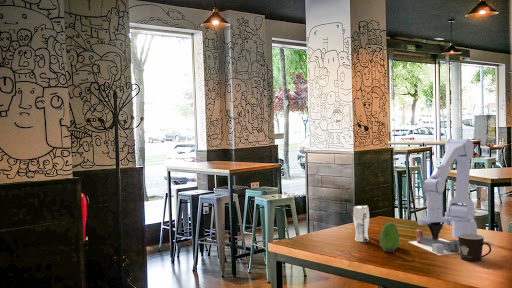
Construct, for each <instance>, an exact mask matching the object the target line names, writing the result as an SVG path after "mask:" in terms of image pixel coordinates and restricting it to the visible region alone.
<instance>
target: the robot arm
mask: <svg viewBox="0 0 512 288" xmlns="http://www.w3.org/2000/svg"><path fill="white" fill-rule="evenodd" d="M474 147H475V145H474V143H473V140H471V139H470V138H467V139H466V138H465V139H464V138H463V139H462V138H461V139H460V138H448V139H447V140H446V142H445V148H444V149H445V153H444V154H443V157H442V160H441V162H440V163H439V164H436V165H435V167H434V170H433V172H432V174H430V177H429V178H427V179H425V180H424V183H423V190H424V194H425V197H426V212H427V213H426V217H424V218H420V219H417V225H419V226H423V225H427V227H428V229H429V231H430V233H431V235H432V236H431V238H434V239H439V235H440V233H441V230H442V228H443V226H444V224H443V223H452V237H453V238H454V239H458V235H459V234H478V230H477V229H478V227H477V225H478V224H477V222H476V221H475V215H476V214H475V213H476V210H475V203H474V201H473V200H471V199H470V198H469V186H470V185H469V184H470V169H471V168H470V167H471V159H473V158H474ZM455 160H456V163H457V165H456V180H455V181H456V182H455V194H454V195H455V196H454V197H453V198H451V199H450V200H449V203H448V206H447V214H448V216H443V202H442V201H443V199H442V198H443V197H442V196H443V192H444V191H445V187H446V186H445V185H446V180H447V178H448V176H449V174H450V173H451V172H450V170H451V169H450V166H451V165H452V164H453V163H454V161H455Z"/></svg>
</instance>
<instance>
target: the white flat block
mask: <svg viewBox="0 0 512 288" xmlns="http://www.w3.org/2000/svg"><path fill="white" fill-rule="evenodd" d="M438 240H442V241H446V242H449V240H446V239H444V238H438ZM408 243H410V244H412V245H414V246H417V247H419V248H421V249H423V250H425V251H428V252H430V253H433V254H436V255H438V256H445V255H446V256H447V255H455V254H460V252H450V250H448V249H445V248H443V245H442V244H440V243H435V244H432V245H429V244H426V243H418V242H417V240H414V241H411V240H410V241H408Z"/></svg>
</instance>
